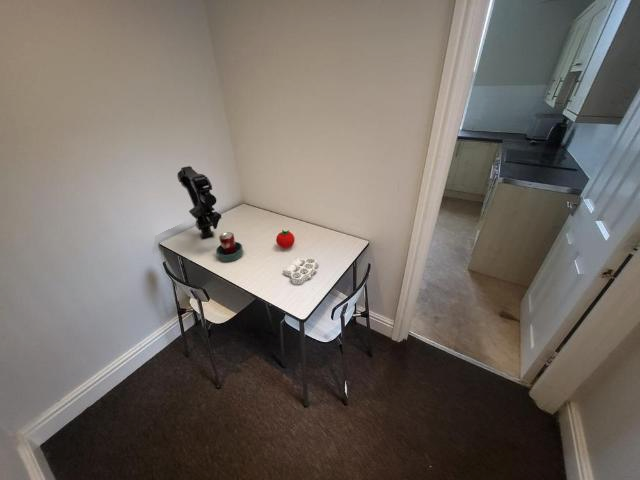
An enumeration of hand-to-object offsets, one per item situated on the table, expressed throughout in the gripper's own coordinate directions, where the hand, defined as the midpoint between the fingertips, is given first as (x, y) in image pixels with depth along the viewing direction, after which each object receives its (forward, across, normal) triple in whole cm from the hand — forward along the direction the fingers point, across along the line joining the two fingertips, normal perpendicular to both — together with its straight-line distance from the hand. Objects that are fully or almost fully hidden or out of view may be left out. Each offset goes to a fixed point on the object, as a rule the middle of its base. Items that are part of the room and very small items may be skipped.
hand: (211, 226), depth 140 cm
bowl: (+13, +14, +1) cm, 19 cm away
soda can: (+13, +14, +1) cm, 19 cm away
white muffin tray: (+13, +53, +19) cm, 58 cm away
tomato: (+13, +29, +28) cm, 42 cm away
